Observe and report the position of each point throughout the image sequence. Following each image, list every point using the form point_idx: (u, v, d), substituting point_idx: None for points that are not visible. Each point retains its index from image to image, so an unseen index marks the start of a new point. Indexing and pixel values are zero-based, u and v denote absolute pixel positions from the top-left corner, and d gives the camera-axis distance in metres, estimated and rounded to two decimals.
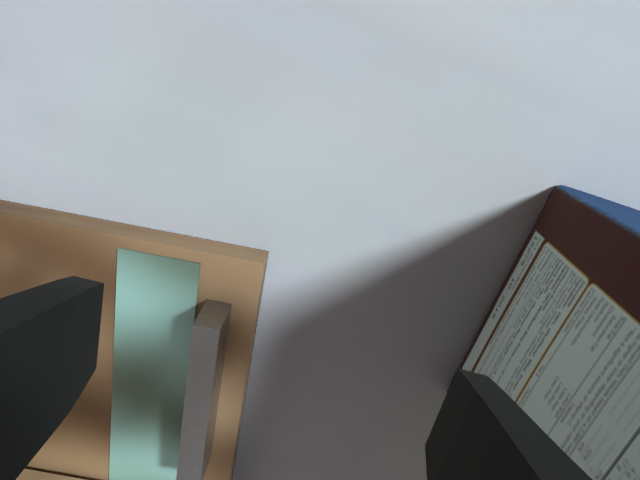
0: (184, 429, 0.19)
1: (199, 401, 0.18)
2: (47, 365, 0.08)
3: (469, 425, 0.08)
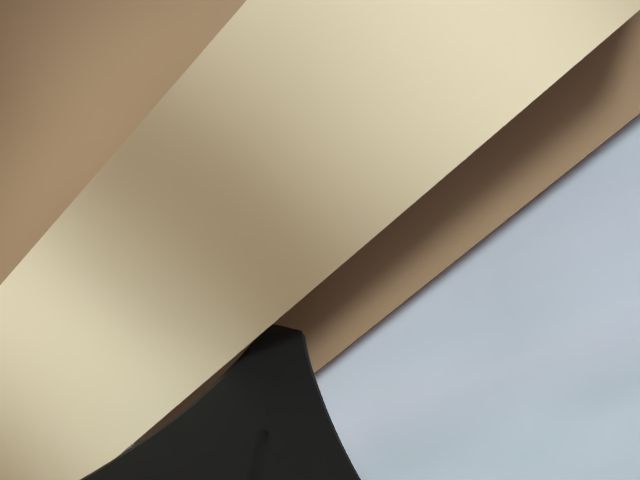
0: None
1: None
2: None
3: None
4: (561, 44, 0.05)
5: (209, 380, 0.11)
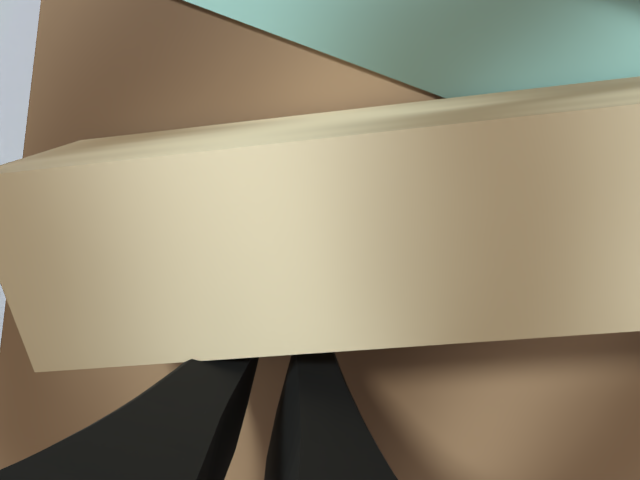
0: None
1: None
2: (239, 410, 0.08)
3: (289, 382, 0.08)
4: None
5: None
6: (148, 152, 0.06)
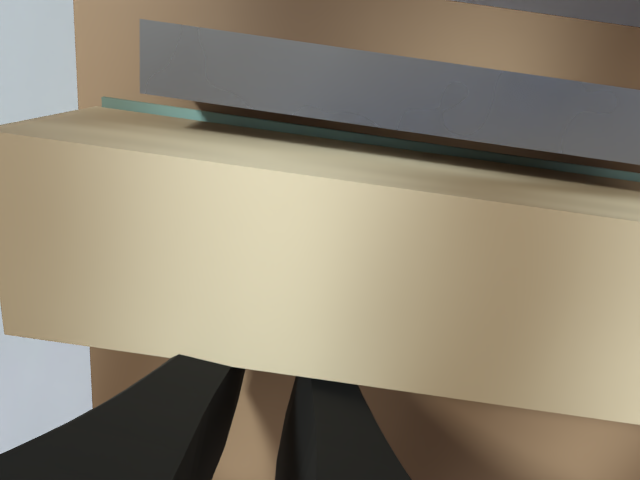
0: (465, 131, 0.07)
1: (371, 85, 0.07)
2: (227, 407, 0.08)
3: (300, 385, 0.08)
4: None
5: None
6: (176, 149, 0.06)
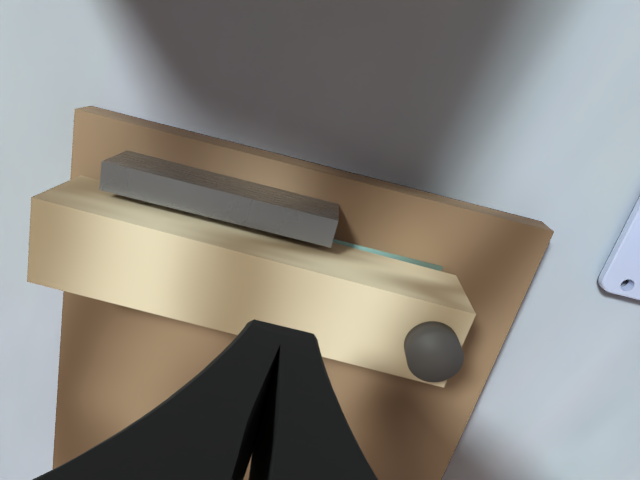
0: (239, 221, 0.16)
1: (198, 198, 0.16)
2: (258, 414, 0.08)
3: (272, 379, 0.08)
4: (353, 357, 0.16)
5: None
6: (112, 212, 0.15)
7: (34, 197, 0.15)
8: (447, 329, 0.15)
